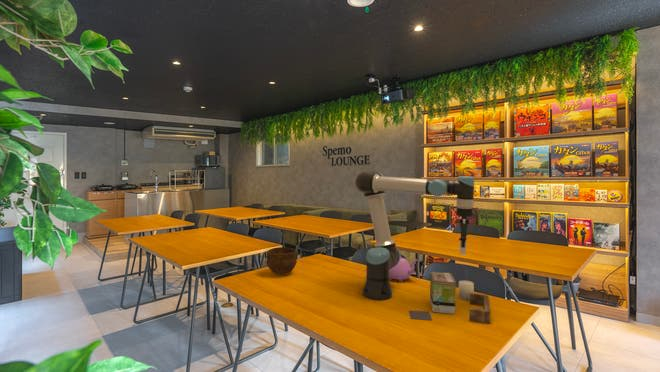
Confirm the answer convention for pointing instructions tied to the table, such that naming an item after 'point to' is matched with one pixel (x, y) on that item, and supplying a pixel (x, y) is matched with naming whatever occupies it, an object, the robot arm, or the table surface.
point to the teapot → (402, 270)
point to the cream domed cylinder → (465, 289)
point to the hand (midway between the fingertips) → (462, 251)
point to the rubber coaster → (420, 315)
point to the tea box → (442, 292)
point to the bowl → (281, 260)
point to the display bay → (478, 314)
